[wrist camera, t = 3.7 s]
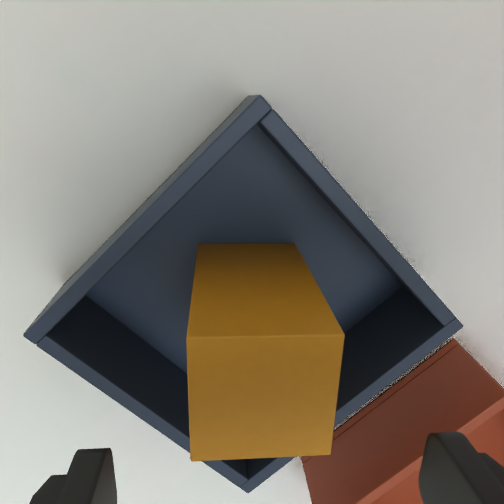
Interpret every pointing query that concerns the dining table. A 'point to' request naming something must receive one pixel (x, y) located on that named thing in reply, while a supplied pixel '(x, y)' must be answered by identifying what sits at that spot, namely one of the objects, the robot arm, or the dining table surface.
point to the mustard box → (260, 355)
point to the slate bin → (238, 231)
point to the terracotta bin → (409, 432)
